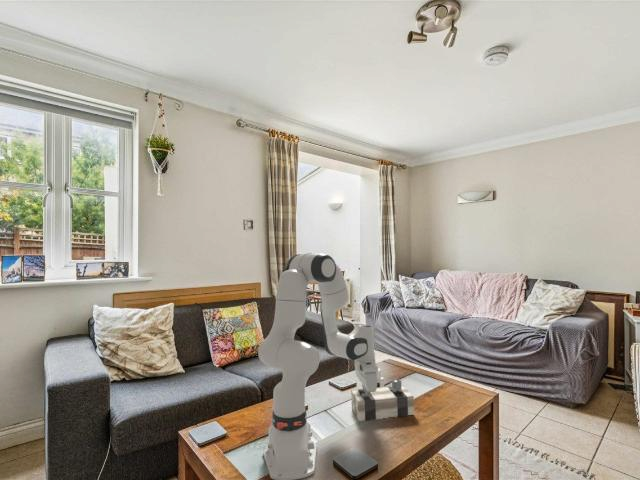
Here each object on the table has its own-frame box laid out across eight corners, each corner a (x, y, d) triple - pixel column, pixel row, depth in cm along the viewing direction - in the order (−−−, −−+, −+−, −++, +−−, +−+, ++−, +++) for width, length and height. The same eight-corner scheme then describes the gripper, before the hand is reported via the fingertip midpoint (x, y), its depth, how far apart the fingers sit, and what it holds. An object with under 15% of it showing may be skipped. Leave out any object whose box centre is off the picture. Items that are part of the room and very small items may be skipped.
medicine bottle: (366, 395, 165) (365, 369, 166) (370, 389, 172) (370, 365, 172) (380, 397, 162) (379, 371, 162) (384, 391, 168) (383, 367, 169)
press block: (414, 415, 143) (413, 396, 144) (358, 421, 140) (358, 401, 140) (403, 403, 155) (402, 385, 156) (351, 408, 152) (351, 389, 152)
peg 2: (403, 398, 147) (402, 382, 147) (394, 399, 146) (393, 383, 147) (399, 395, 151) (399, 379, 151) (391, 395, 150) (390, 379, 151)
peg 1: (372, 412, 145) (371, 395, 145) (363, 413, 144) (362, 396, 145) (369, 408, 149) (369, 392, 149) (360, 409, 148) (360, 393, 148)
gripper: (352, 355, 157) (353, 385, 157) (364, 370, 137) (365, 405, 136) (365, 354, 158) (366, 384, 158) (379, 369, 138) (380, 403, 137)
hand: (366, 394), depth 147 cm, fingers closed, pressing on peg 1
